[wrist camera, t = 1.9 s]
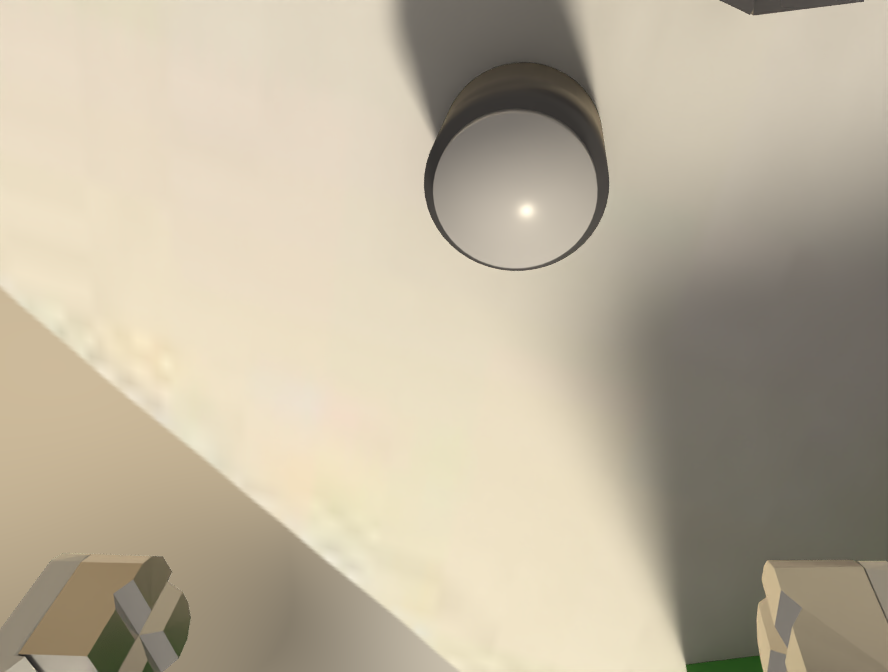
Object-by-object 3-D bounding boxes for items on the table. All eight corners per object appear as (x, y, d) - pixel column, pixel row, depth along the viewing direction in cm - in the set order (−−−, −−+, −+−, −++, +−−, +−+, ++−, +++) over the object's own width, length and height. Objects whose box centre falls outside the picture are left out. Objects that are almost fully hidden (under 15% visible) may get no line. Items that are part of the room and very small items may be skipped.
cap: (600, 52, 23) (607, 89, 19) (604, 212, 25) (611, 272, 22) (431, 72, 24) (406, 112, 20) (454, 224, 27) (436, 283, 23)
